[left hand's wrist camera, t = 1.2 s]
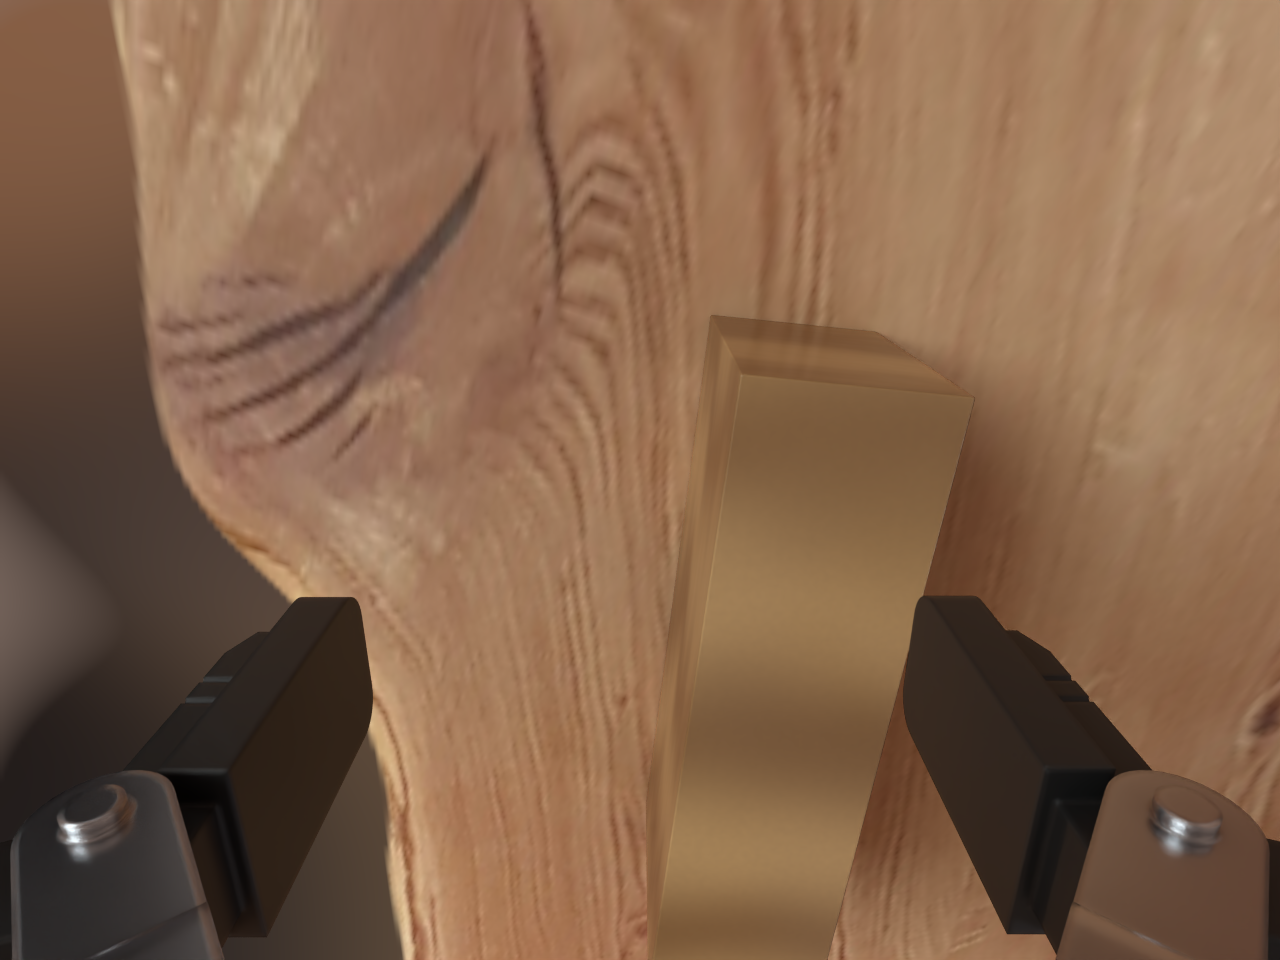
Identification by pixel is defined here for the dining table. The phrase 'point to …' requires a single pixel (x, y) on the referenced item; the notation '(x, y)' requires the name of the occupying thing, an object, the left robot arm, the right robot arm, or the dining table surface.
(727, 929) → the bar
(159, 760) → the left robot arm
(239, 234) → the dining table surface
